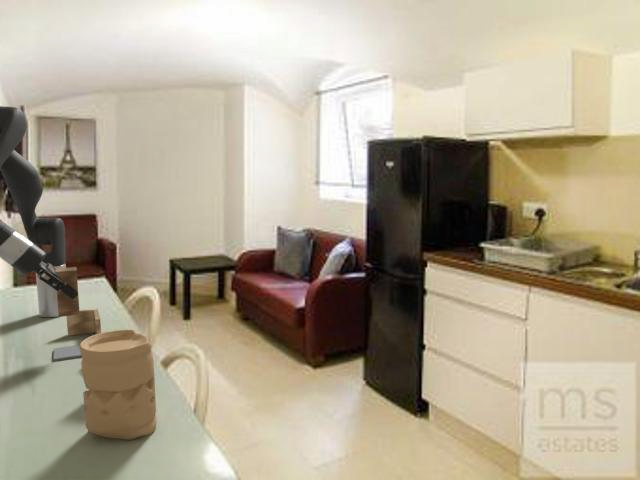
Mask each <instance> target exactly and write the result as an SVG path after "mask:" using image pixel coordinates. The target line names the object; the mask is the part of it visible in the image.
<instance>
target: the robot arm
mask: <svg viewBox="0 0 640 480" xmlns="http://www.w3.org/2000/svg"><path fill="white" fill-rule="evenodd" d="M27 128H28V121H27V116H26V115H25V113H24V111H23V110H21V109H20V108H18V107H13V106H3V105H2V106H1V105H0V172H1V174H2V177H3V179H4V182H5V184H6V186H7V188H8V189H7V190H8V191H9V193H10V195H11V197H12V200H13V201H14V204H15V205H16V208H17V211H18V213H19V215H20V218H21V222H22V225H23V229H24V231H25V234H26V236H25V235H23V234H21V233H19V232H17V231H16V230H15V229H13V227H11V226H10V225H8V224H7V223H5V222H4V221H3V220H2V219H0V259H1V260H3V261H4V262H5V263H7V264H8V265H9V266H11V267H12V268H13V269H15V270H16V271H18V272H19V273H21V274H22V275H23V276H28V275H29V274H30V273H31V272H32V271H34V272H35V277H36V278H35V279H36V292H37V304H38V315H39V317H40V318H57V317H59V314H58V301H57V291H62V292H63V293H64V294H66V295H67V296H69V297H70V298H71V299H74V298H75V297H76V296H77V295H78V296H79V291H78V292H77V291H76V290H75V289H73V288H72V287H71V286H69V285H68V284H67V283H66V282H64V281H63V280H62V279H61V276H60V275H58V274H57V273H56V272H55V271H56V269H58V268H67V264H66V263H67V262H66V253H67V252H66V227H65V223H64V220H63V219H62V218H60V217H38V215H37V214H36V208H37V206H38V203H39V202H40V200H41V198H42V195H43V193H44V192H43V191H44V186H43V182H42V181H41V178H40V175H39V173H38V170H37V169H36V167H35V166H34V165H33V164H32V163H31V162H30V161H28V160H27V159H26V158H25V157H24V156H23V155H21V154H20V153H18V152H17V151H16V148H17V146H18V145H19V144H20V142H21V141H22V140H23V138H24V137H25V135H26V131H27ZM39 246H51V247H50V248H51V249H50V251H47V252H45V250H43V249H41V248H40V247H39ZM57 281H58V282H59V284H58V285H56V282H57Z"/></svg>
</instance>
